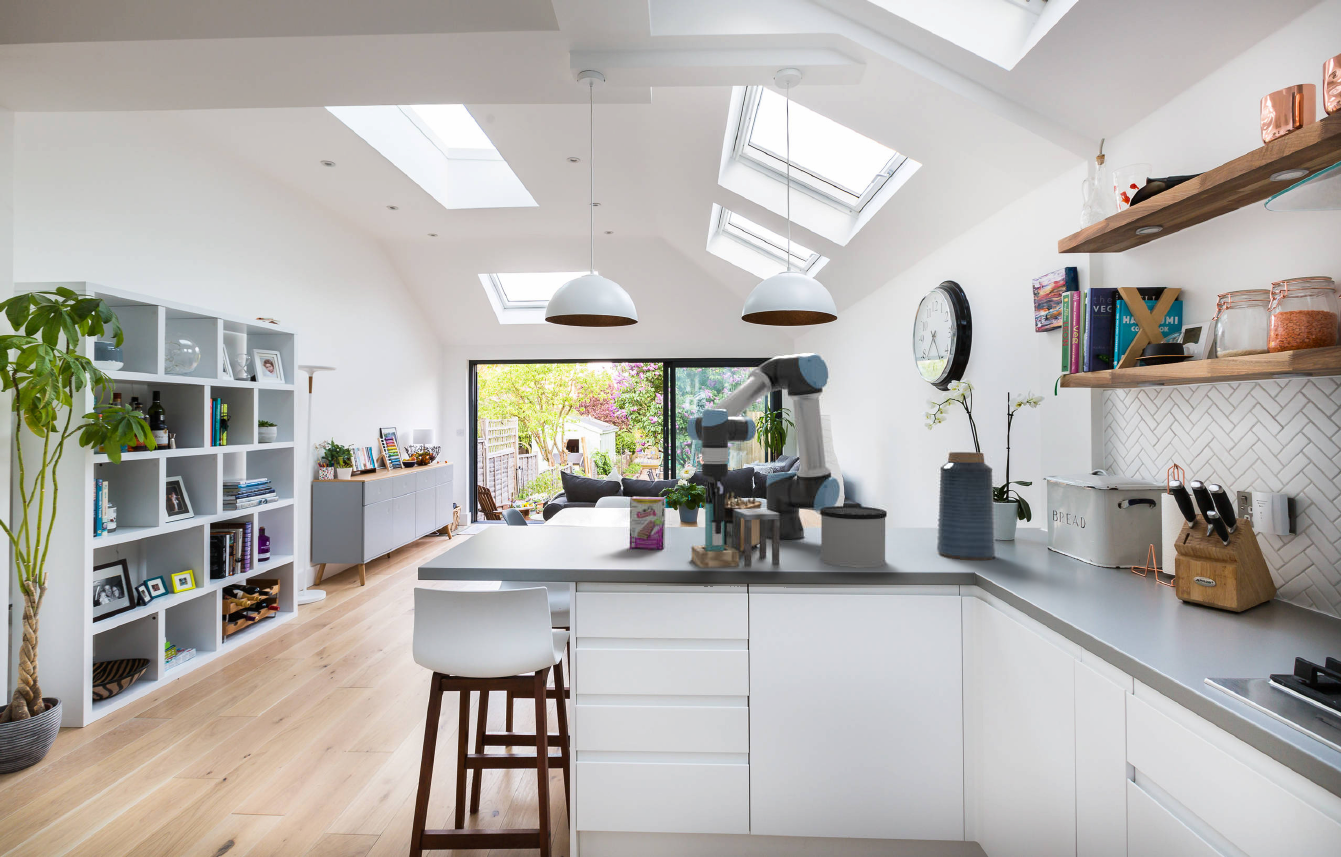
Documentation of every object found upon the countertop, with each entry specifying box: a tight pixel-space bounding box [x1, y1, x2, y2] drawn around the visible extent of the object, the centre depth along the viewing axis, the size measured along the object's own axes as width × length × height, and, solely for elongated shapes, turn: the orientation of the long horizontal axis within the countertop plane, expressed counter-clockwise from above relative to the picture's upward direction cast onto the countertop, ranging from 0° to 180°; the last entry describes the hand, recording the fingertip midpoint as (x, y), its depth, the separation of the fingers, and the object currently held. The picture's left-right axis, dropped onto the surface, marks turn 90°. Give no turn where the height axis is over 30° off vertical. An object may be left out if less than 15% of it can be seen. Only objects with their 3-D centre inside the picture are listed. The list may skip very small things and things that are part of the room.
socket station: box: [691, 508, 780, 568], centre depth 186 cm, size 23×12×14 cm, turn 102°
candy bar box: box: [629, 496, 666, 550], centre depth 207 cm, size 11×5×16 cm, turn 84°
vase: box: [936, 451, 996, 561], centre depth 196 cm, size 16×16×32 cm
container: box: [819, 505, 888, 568], centre depth 188 cm, size 19×19×15 cm
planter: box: [724, 491, 763, 556], centre depth 205 cm, size 25×25×19 cm
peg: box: [704, 503, 724, 552], centre depth 185 cm, size 4×4×14 cm
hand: (714, 543), depth 185 cm, fingers closed on peg, 4 cm apart
